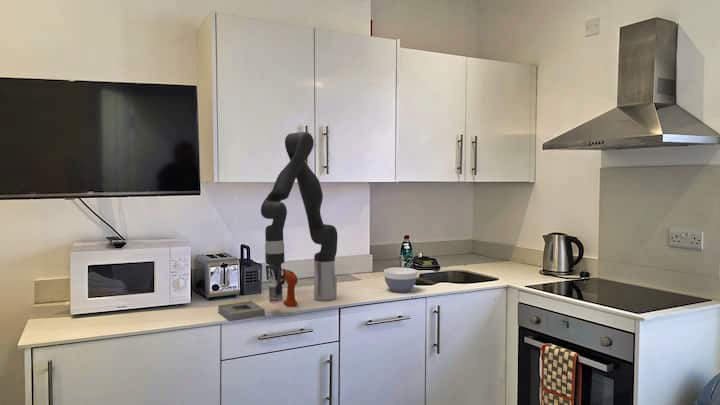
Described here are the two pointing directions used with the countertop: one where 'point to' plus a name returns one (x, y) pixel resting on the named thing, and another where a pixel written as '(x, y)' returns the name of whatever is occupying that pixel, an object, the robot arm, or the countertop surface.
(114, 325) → the countertop surface
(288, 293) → the toy drill
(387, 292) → the countertop surface
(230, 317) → the grey flat square block
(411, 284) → the bowl
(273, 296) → the pill bottle
